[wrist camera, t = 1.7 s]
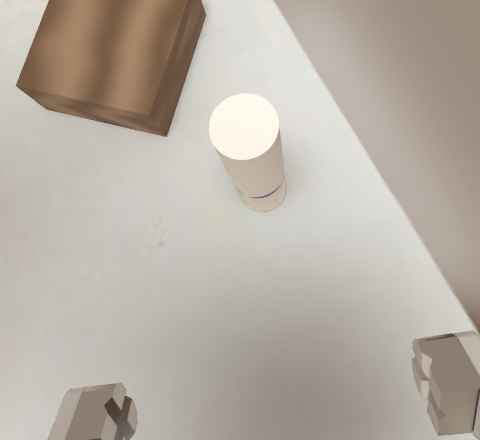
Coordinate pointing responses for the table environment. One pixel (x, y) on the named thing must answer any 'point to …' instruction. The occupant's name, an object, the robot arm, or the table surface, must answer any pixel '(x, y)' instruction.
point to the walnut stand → (113, 59)
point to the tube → (250, 149)
